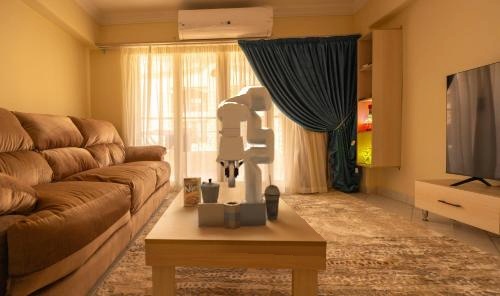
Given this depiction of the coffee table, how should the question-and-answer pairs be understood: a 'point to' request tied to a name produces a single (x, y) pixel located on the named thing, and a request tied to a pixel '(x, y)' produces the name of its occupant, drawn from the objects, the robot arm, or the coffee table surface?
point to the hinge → (231, 214)
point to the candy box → (192, 191)
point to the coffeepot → (210, 192)
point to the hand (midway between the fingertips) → (231, 177)
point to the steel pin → (231, 174)
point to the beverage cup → (272, 201)
